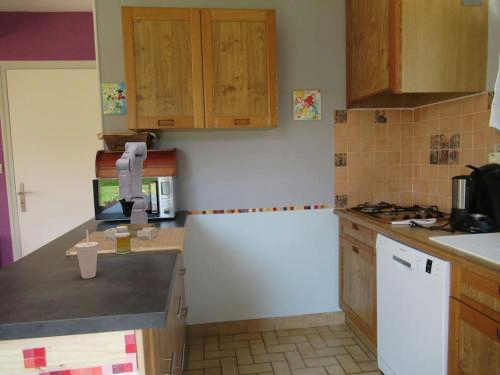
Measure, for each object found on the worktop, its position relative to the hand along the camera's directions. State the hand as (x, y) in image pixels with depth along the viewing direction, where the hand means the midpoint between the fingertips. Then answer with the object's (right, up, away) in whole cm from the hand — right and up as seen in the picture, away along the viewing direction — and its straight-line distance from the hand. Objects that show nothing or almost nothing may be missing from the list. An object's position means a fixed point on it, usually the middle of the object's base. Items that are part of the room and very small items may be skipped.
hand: (127, 215), depth 156 cm
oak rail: (+2, -9, +5) cm, 11 cm away
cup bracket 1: (-5, -10, -1) cm, 11 cm away
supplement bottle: (+8, -12, -26) cm, 30 cm away
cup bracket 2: (+9, -10, -2) cm, 13 cm away
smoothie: (+7, -14, -53) cm, 55 cm away
